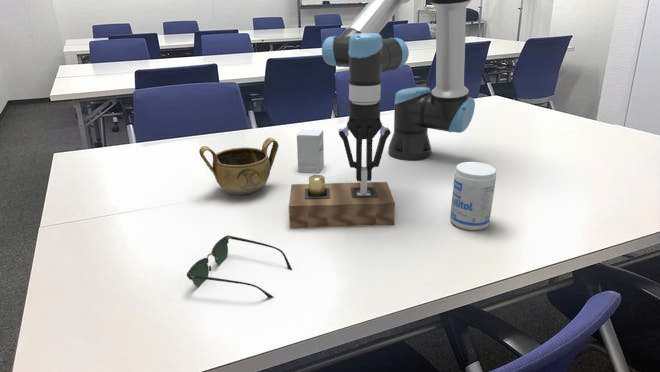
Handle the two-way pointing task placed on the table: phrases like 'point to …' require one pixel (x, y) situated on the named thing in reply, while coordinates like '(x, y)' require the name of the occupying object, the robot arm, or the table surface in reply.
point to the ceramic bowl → (242, 167)
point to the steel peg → (363, 194)
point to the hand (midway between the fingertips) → (363, 192)
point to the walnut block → (341, 206)
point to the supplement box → (310, 150)
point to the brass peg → (317, 185)
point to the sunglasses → (220, 253)
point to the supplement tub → (472, 195)
